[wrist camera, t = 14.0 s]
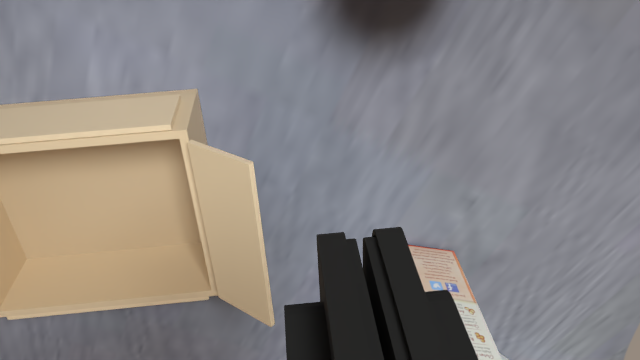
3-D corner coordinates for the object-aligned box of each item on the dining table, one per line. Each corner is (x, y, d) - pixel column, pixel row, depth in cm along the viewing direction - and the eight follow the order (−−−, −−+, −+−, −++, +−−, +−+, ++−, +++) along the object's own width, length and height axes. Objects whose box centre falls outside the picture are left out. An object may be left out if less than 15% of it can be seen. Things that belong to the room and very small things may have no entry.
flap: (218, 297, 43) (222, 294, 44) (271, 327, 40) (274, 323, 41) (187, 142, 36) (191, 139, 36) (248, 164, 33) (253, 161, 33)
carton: (-45, 102, 41) (-97, 147, 35) (196, 83, 42) (185, 123, 36) (26, 264, 50) (-6, 321, 44) (225, 245, 50) (221, 299, 45)
